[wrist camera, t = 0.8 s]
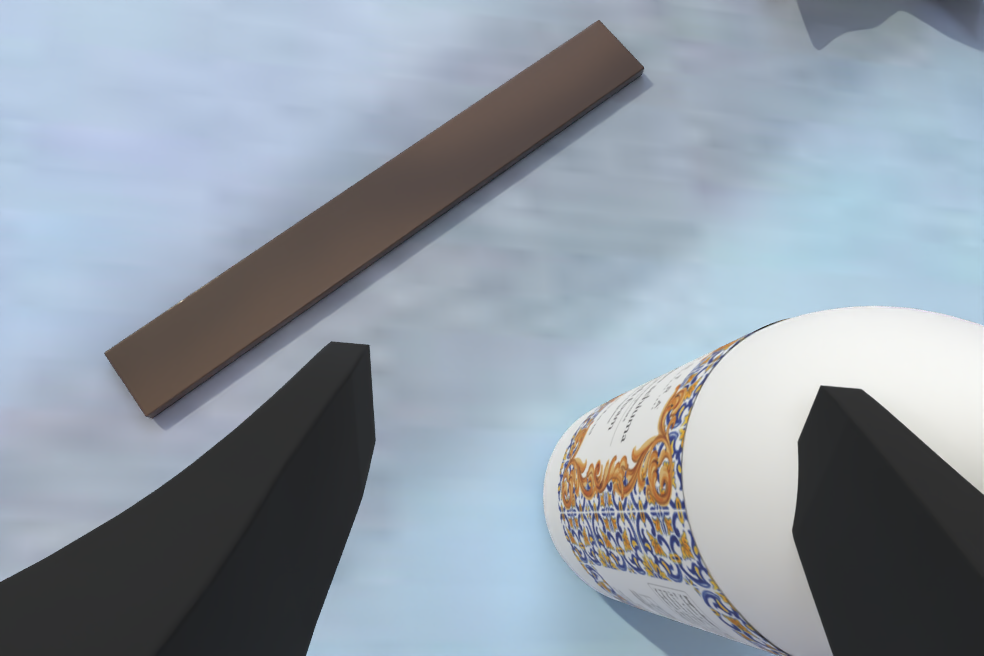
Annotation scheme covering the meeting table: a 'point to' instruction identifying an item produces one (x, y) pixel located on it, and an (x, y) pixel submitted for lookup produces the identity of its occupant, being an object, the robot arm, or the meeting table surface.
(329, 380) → the robot arm
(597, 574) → the bath foam
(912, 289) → the meeting table surface
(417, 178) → the walnut ruler
